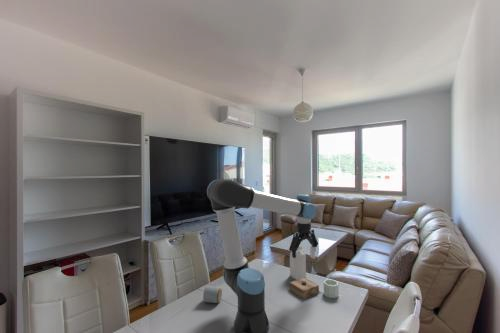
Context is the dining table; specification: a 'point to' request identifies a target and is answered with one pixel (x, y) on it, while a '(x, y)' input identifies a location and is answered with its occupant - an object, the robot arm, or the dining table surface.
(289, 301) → the dining table surface
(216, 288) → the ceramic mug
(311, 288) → the lid
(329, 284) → the octagonal pipe section
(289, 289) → the mat
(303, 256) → the milk carton
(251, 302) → the robot arm
